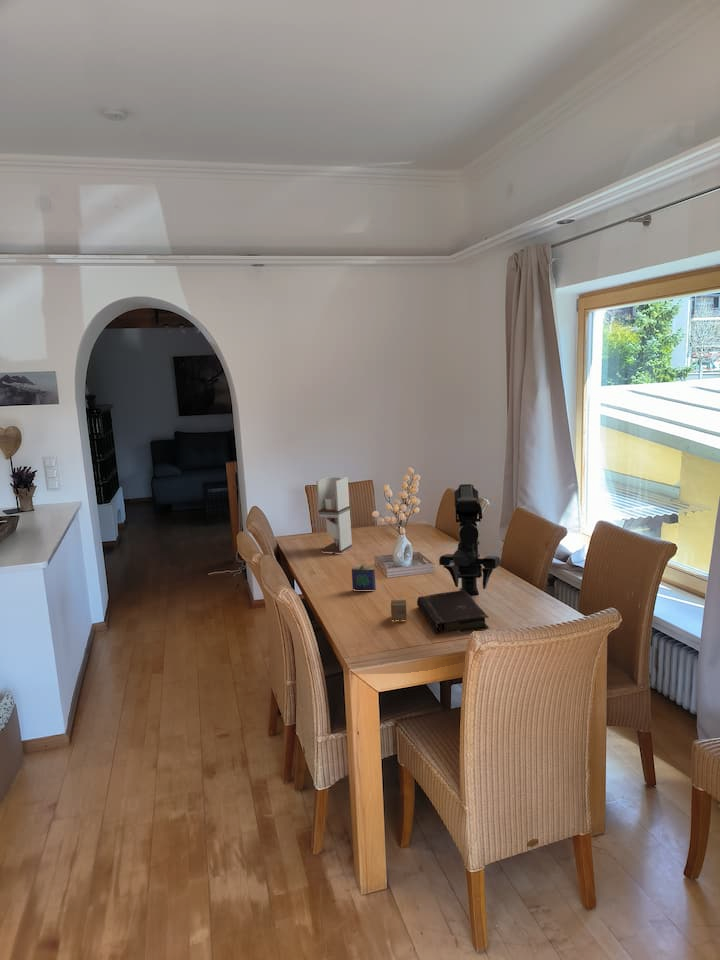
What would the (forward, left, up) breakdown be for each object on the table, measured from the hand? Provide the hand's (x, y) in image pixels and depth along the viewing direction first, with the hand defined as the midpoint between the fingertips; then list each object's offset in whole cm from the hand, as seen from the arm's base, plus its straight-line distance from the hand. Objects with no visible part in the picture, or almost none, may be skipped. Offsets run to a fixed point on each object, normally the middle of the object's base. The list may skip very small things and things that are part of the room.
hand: (470, 587), depth 202 cm
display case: (-99, -54, -14) cm, 114 cm away
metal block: (-11, -23, -14) cm, 30 cm away
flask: (-41, -37, -14) cm, 57 cm away
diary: (-11, -5, -15) cm, 19 cm away
